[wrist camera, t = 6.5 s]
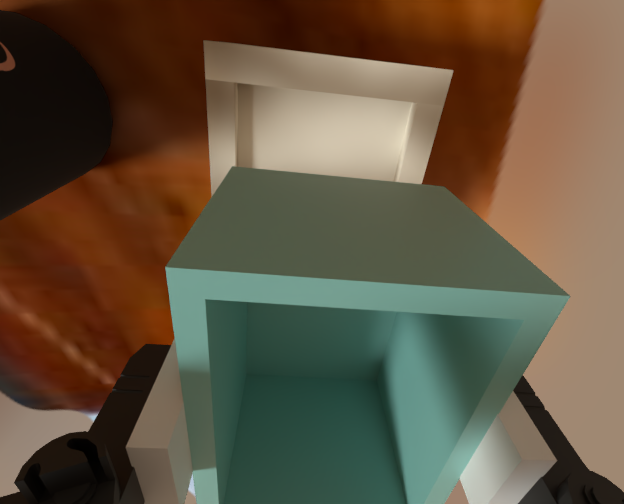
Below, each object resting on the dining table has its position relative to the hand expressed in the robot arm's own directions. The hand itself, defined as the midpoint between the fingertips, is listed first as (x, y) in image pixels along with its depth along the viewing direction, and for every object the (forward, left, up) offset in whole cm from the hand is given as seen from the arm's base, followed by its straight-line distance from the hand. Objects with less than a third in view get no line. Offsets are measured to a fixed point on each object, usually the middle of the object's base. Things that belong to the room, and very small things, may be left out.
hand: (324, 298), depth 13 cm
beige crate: (0, 0, -17) cm, 17 cm away
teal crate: (0, 0, 0) cm, 0 cm away
